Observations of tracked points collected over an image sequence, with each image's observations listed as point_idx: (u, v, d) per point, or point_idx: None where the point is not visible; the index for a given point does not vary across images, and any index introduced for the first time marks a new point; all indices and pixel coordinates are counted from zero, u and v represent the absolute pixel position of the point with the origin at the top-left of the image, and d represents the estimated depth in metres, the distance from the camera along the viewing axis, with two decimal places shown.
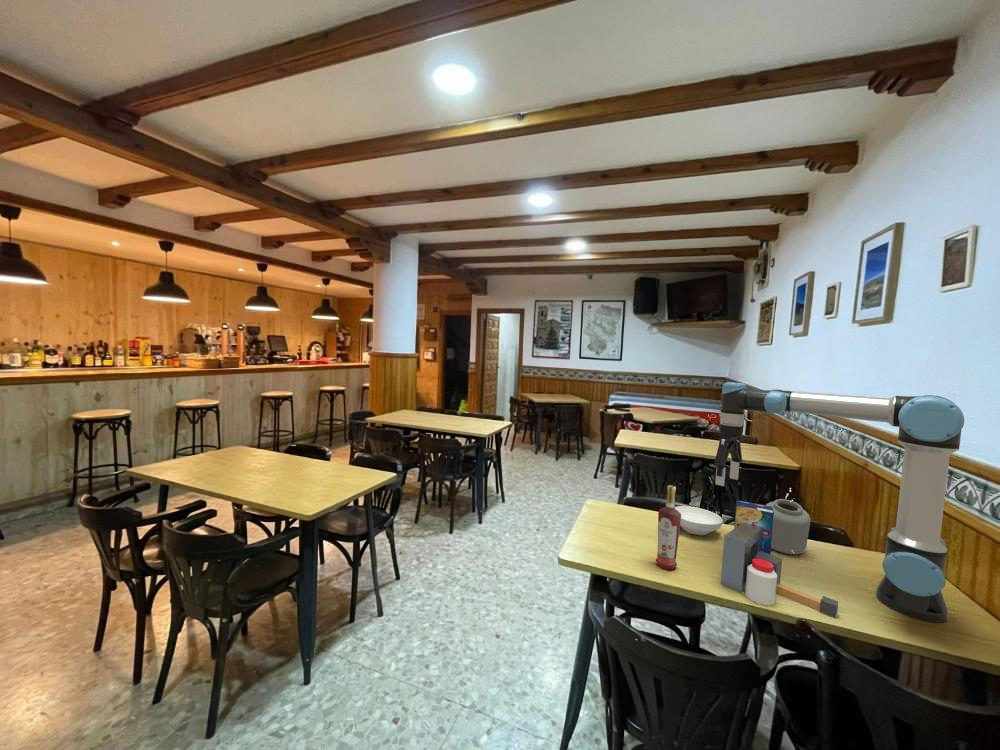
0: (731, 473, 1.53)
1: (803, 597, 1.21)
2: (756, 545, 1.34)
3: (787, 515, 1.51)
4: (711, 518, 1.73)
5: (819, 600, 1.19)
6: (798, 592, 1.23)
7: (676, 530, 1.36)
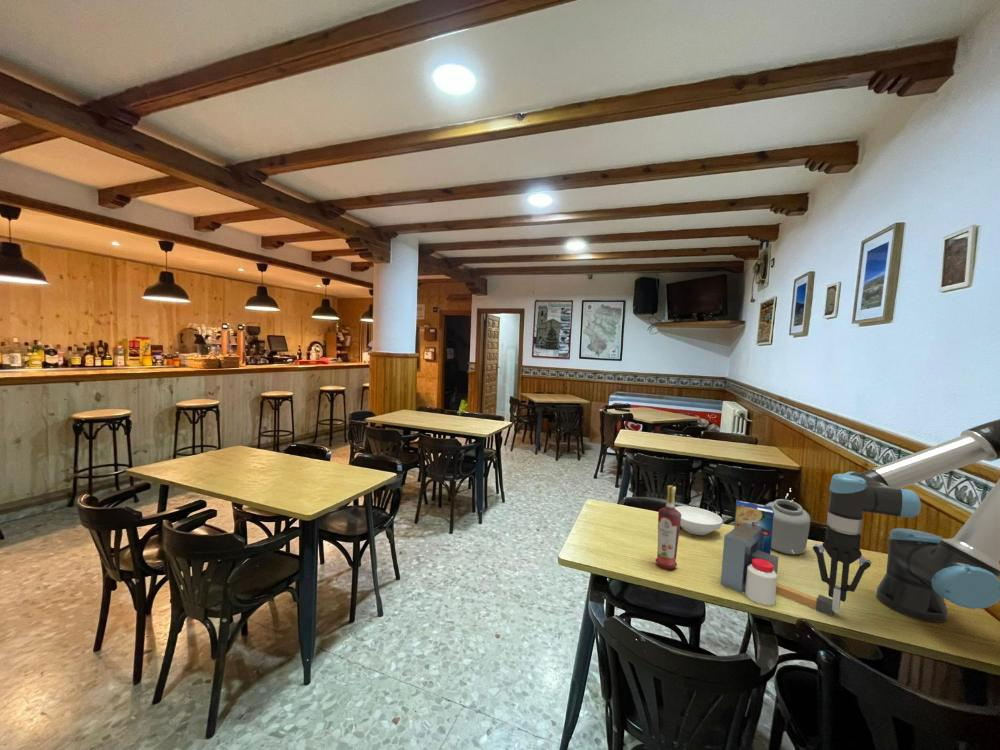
0: None
1: (799, 595, 1.21)
2: (756, 545, 1.34)
3: (787, 515, 1.51)
4: (711, 518, 1.73)
5: (815, 598, 1.19)
6: (794, 591, 1.23)
7: (676, 530, 1.36)
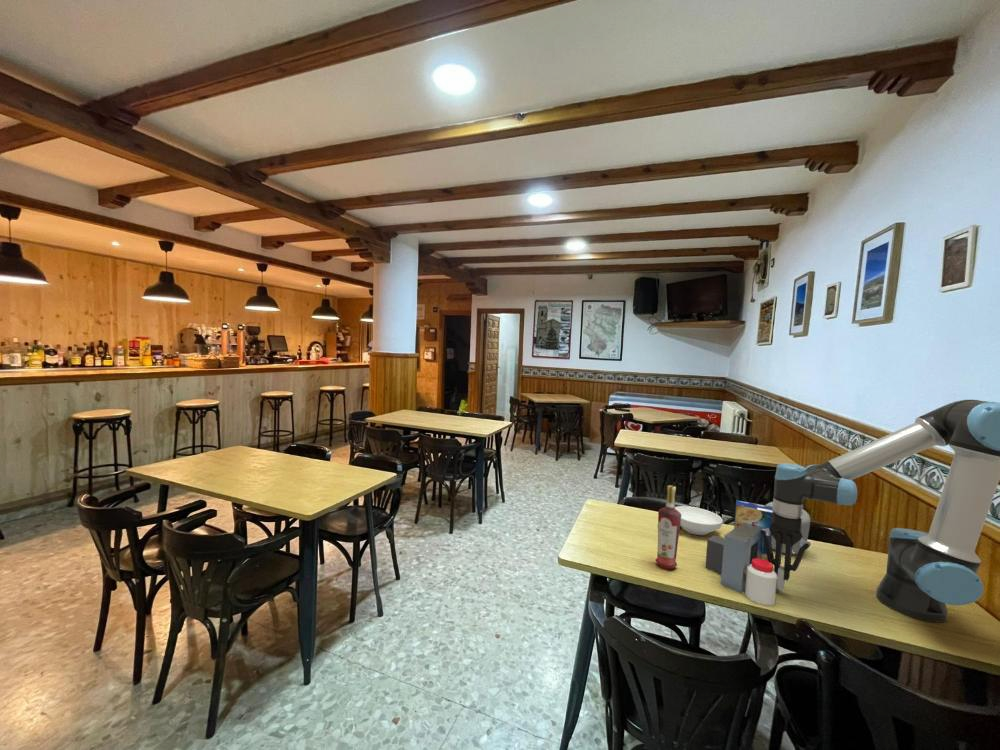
0: None
1: None
2: (756, 545, 1.34)
3: None
4: (711, 518, 1.73)
5: None
6: None
7: (676, 530, 1.36)
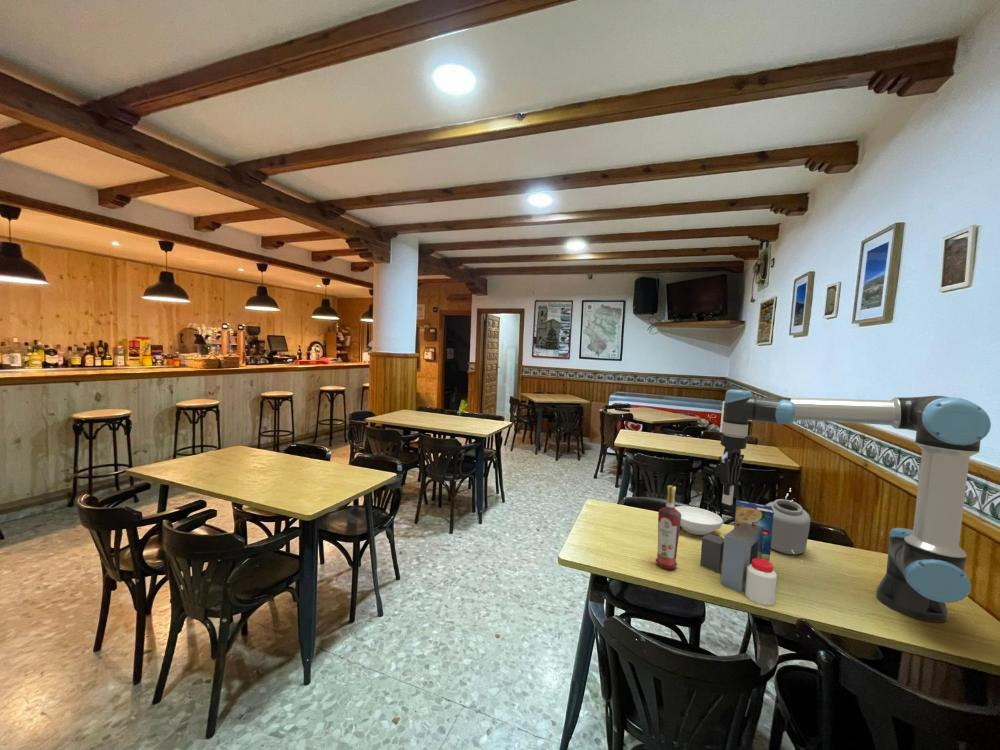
0: None
1: None
2: (756, 545, 1.34)
3: (787, 515, 1.51)
4: (711, 518, 1.73)
5: None
6: None
7: (676, 530, 1.36)
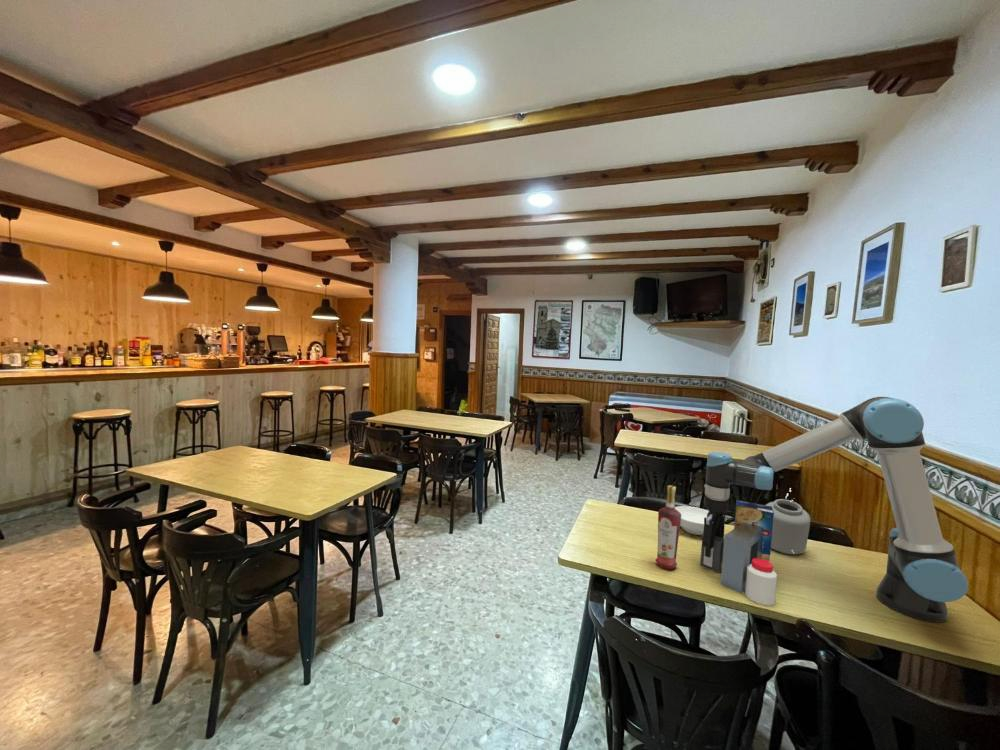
0: None
1: None
2: (756, 545, 1.34)
3: (787, 515, 1.51)
4: None
5: None
6: None
7: (676, 530, 1.36)
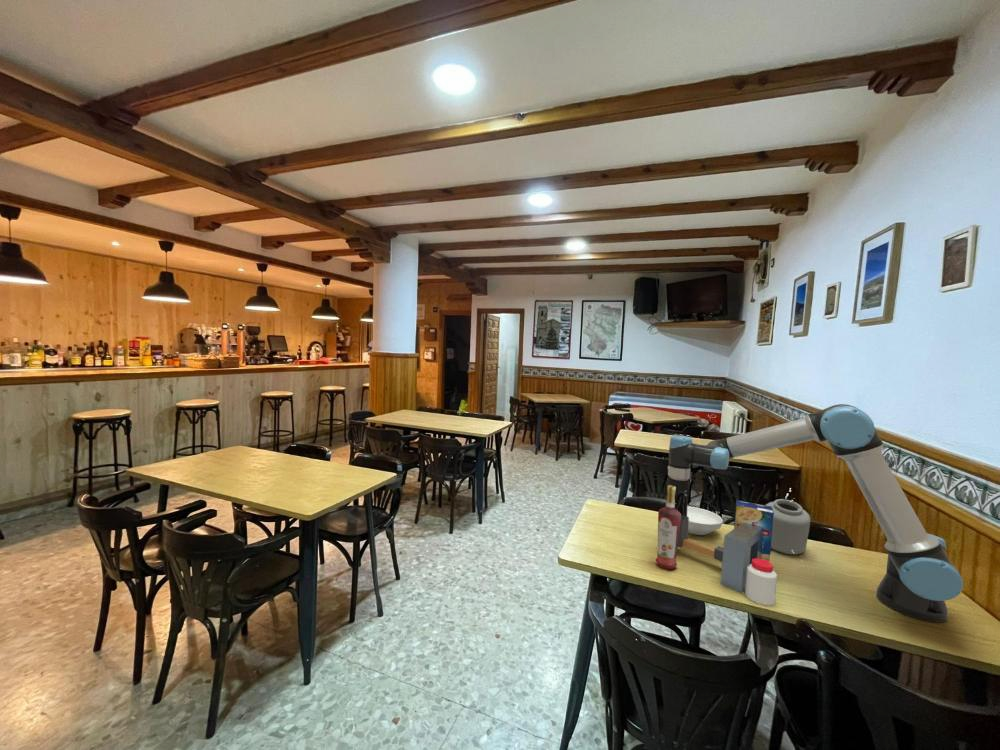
0: None
1: (702, 547, 1.42)
2: (756, 545, 1.34)
3: (787, 515, 1.51)
4: (711, 518, 1.73)
5: (714, 549, 1.40)
6: (699, 544, 1.44)
7: (676, 530, 1.36)
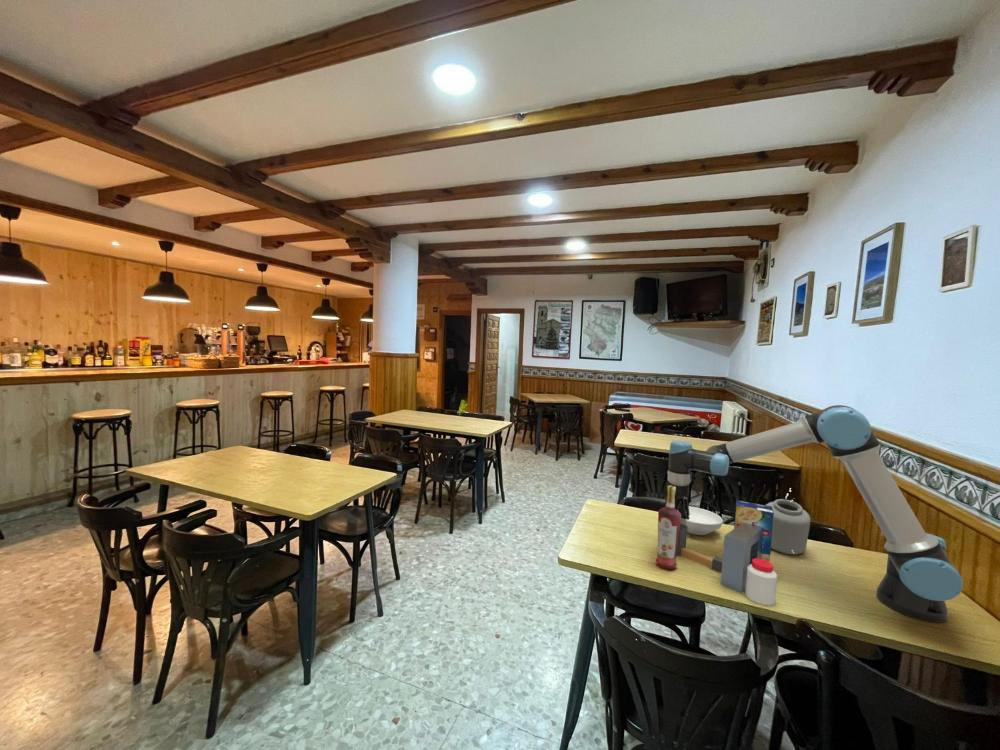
0: None
1: (700, 557, 1.42)
2: (756, 545, 1.34)
3: (787, 515, 1.51)
4: (711, 518, 1.73)
5: (712, 559, 1.41)
6: (697, 553, 1.44)
7: (676, 530, 1.36)
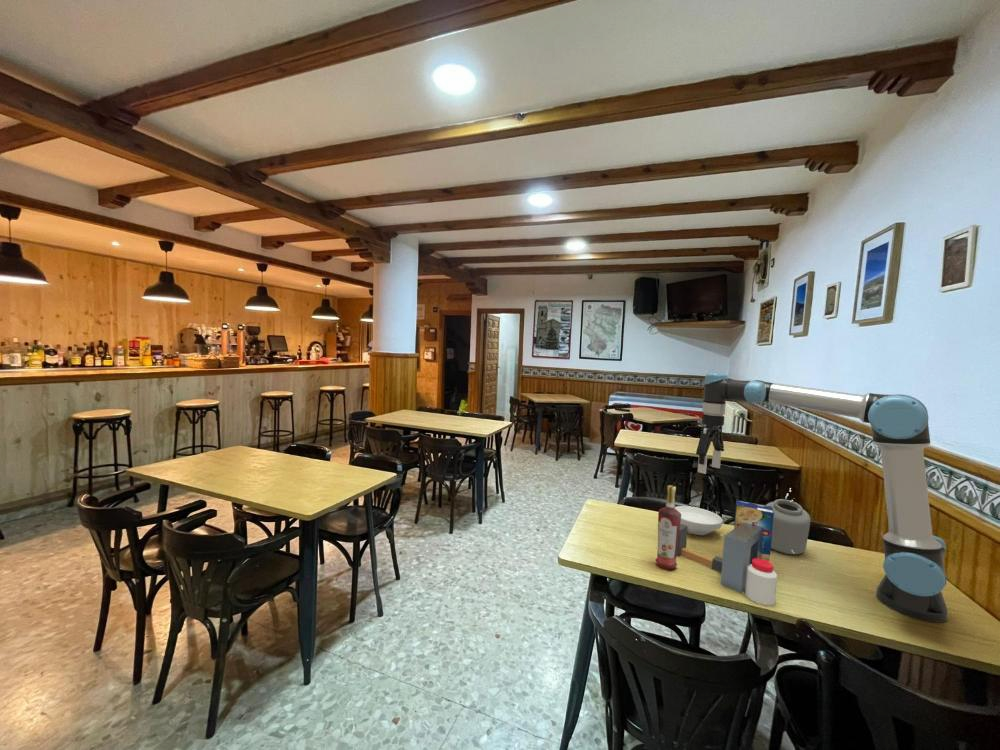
0: (713, 462, 1.57)
1: (700, 557, 1.42)
2: (756, 545, 1.34)
3: (787, 515, 1.51)
4: (711, 518, 1.73)
5: (712, 559, 1.41)
6: (697, 553, 1.44)
7: (676, 530, 1.36)
